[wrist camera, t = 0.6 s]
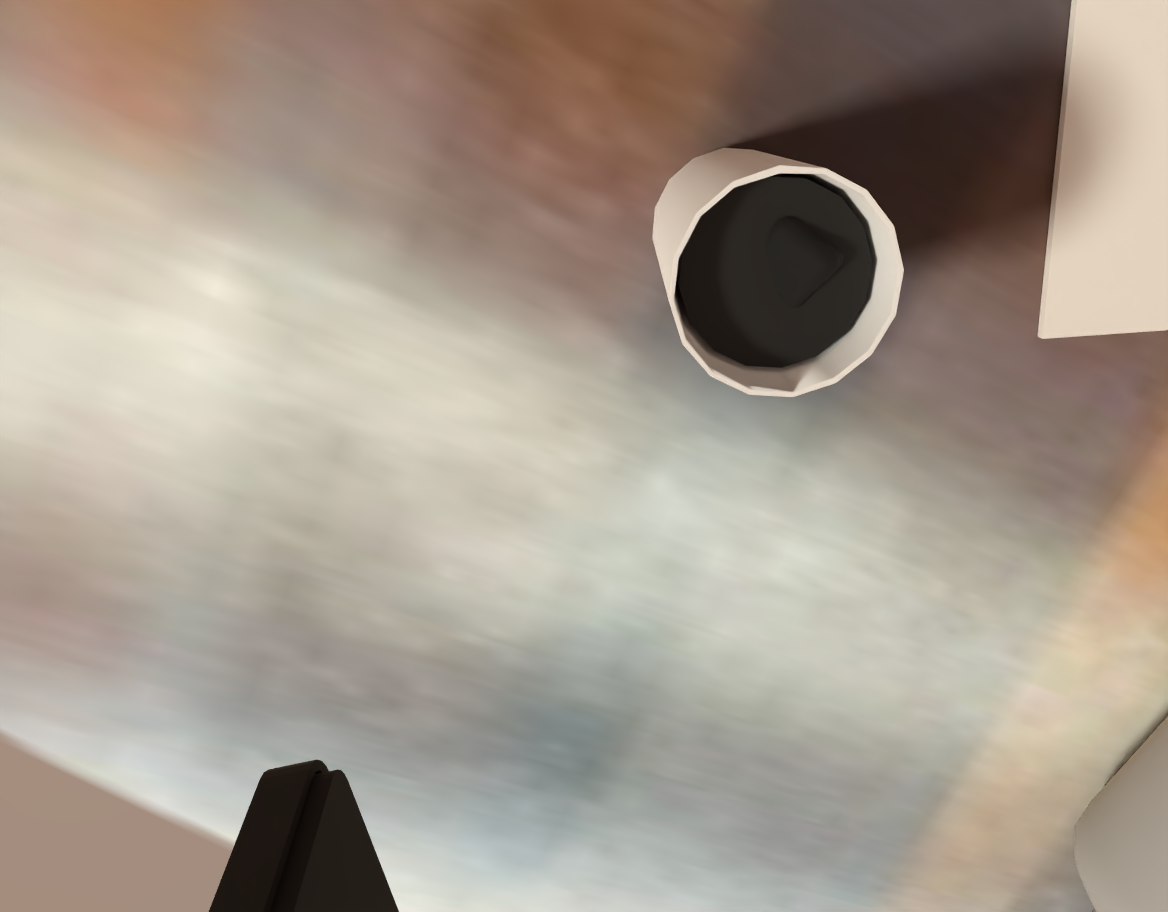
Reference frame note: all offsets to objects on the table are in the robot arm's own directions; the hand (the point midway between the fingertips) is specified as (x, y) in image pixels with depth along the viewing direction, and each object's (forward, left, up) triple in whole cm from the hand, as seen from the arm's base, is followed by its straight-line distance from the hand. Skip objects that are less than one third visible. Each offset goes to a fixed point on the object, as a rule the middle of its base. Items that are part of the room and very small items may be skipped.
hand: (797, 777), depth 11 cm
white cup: (0, +4, -30) cm, 31 cm away
